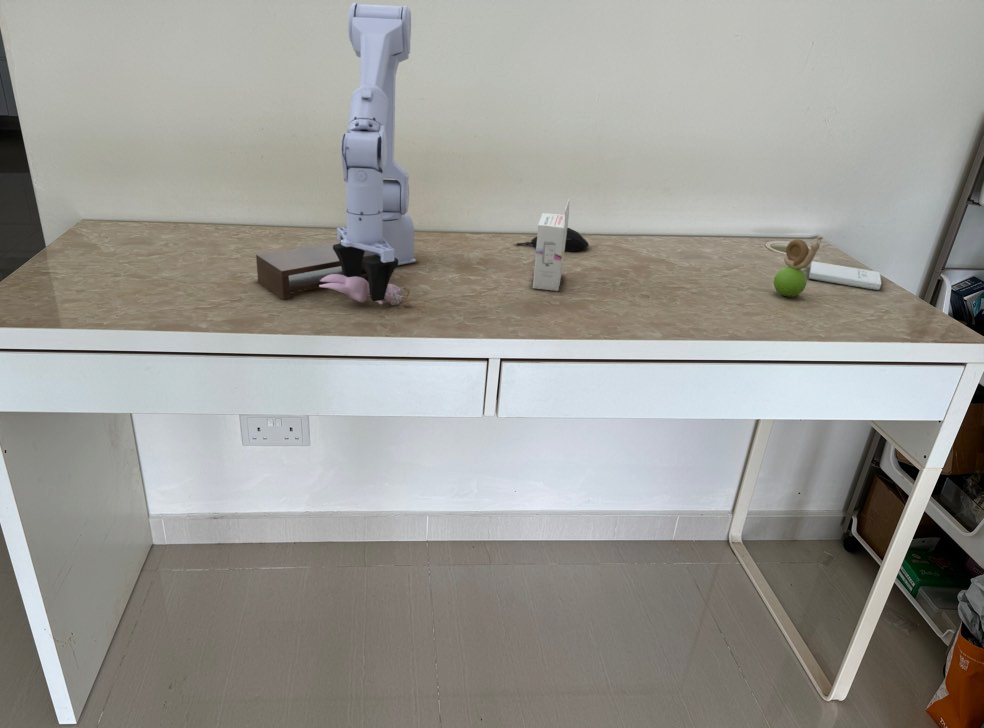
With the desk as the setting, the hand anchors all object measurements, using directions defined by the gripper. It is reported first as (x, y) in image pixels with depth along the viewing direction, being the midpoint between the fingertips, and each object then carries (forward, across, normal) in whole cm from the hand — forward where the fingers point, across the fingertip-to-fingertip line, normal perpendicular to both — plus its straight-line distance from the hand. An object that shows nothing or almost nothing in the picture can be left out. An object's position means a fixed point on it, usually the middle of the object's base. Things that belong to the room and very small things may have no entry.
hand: (365, 292), depth 127 cm
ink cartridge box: (+2, +8, +34) cm, 35 cm away
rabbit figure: (+2, 0, 0) cm, 2 cm away
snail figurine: (+2, +36, +68) cm, 77 cm away
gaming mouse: (+2, -8, +51) cm, 51 cm away
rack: (+2, -13, -2) cm, 14 cm away
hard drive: (+2, +36, +87) cm, 94 cm away
